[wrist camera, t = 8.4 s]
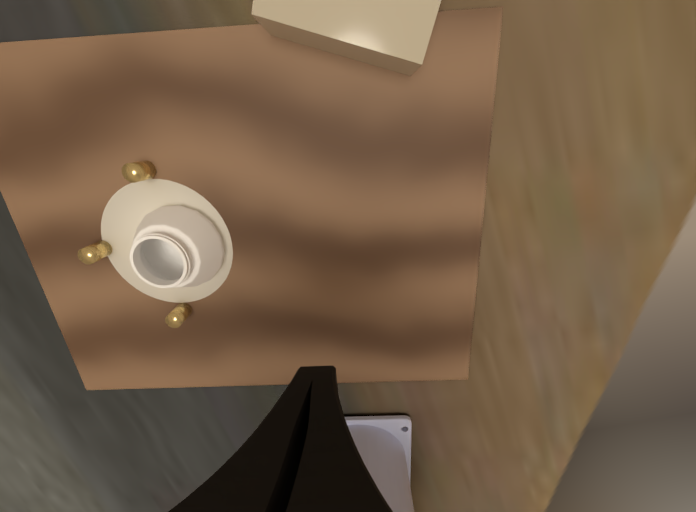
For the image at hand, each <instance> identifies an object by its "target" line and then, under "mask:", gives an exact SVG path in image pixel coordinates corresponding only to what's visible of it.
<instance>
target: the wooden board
mask: <svg viewBox="0 0 696 512" xmlns="http://www.w3.org/2000/svg"><path fill="white" fill-rule="evenodd" d="M502 14H503V7H489V8H475V9H461V10H447V11H438V13H437V16H436V20H435V23H434V26H433V30H432V33H431V37H430V40H429V43H428V47H427V50H426V53H425V57H424V60H423V63H422V65H421V66H420V67H419V68H418V69H417V70H416V71H415V72H414V73H413V74H412V75H411V76H408V75H404V74H401V73H398V72H394V71H391V70H387V69H384V68H381V67H377V66H374V65H370V64H367V63H363V62H360V61H357V60H353V59H350V58H346V57H343V56H340V55H336V54H333V53H329V52H326V51H322V50H319V49H316V48H312V47H309V46H305V45H302V44H299V43H295V42H292V41H288V40H285V39H281V38H278V37H275V36H271V35H270V34H269V33H268V32H267V31H266V30H265V29H264V28H263V26H262V25H261V24H253V25H239V26H225V27H211V28H197V29H184V30H170V31H156V32H142V33H128V34H114V35H100V36H86V37H73V38H59V39H45V40H31V41H17V42H3V43H0V191H1V193H2V195H3V197H4V200H5V202H6V204H7V207H8V209H9V211H10V214H11V216H12V218H13V221H14V223H15V225H16V228H17V230H18V232H19V235H20V237H21V239H22V241H23V244H24V246H25V248H26V251H27V253H28V255H29V258H30V260H31V262H32V265H33V267H34V269H35V272H36V274H37V276H38V279H39V281H40V283H41V286H42V288H43V290H44V292H45V295H46V297H47V299H48V302H49V304H50V306H51V309H52V311H53V313H54V316H55V318H56V320H57V323H58V325H59V327H60V330H61V332H62V334H63V336H64V339H65V341H66V343H67V346H68V348H69V350H70V353H71V355H72V357H73V360H74V362H75V364H76V367H77V369H78V371H79V374H80V376H81V378H82V380H83V383H84V385H85V387H86V390H106V389H141V388H177V387H213V386H248V385H284V384H289V383H290V382H291V380H292V379H293V377H294V375H295V374H296V372H297V370H298V369H299V368H300V367H303V366H330V365H333V366H334V367H335V368H336V376H337V383H355V382H391V381H427V380H462V379H468V372H469V361H470V351H471V340H472V330H473V319H474V309H475V298H476V288H477V277H478V267H479V256H480V246H481V235H482V225H483V214H484V204H485V193H486V183H487V172H488V162H489V151H490V141H491V130H492V120H493V109H494V99H495V88H496V78H497V67H498V56H499V46H500V35H501V25H502ZM175 205H181V206H184V207H187V208H190V209H193V210H196V211H198V212H199V213H200V214H202V215H203V216H204V217H206V218H207V219H208V220H210V221H211V222H212V224H213V225H214V227H215V228H216V230H217V231H218V233H219V234H220V236H221V239H222V243H223V248H224V257H223V261H222V266H221V268H220V269H219V270H218V272H217V273H216V274H215V275H214V276H213V278H212V279H211V280H209V281H207V282H205V283H203V284H201V285H199V286H196V287H178V288H158V287H154V286H151V285H149V284H147V283H146V282H144V281H143V280H142V279H140V278H139V277H138V275H137V274H136V273H135V272H134V270H133V268H132V266H131V263H130V249H131V247H132V245H133V239H134V236H135V233H136V229H137V227H138V225H139V224H140V222H141V221H142V219H143V218H144V216H145V215H146V214H148V213H150V212H152V211H154V210H156V209H158V208H160V207H162V206H175Z"/></svg>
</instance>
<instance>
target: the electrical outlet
mask: <svg viewBox="0 0 696 512" xmlns="http://www.w3.org/2000/svg"><path fill="white" fill-rule="evenodd" d="M440 3H441V0H253V6H252V15H253V16H254V18H255V19H256V20H257V21H258V22H259V23H260V24H261V25H262V26H263V28H264V29H265V30H266V31H267V32H268V33H269V34H270V35H271V36H275V37H278V38H281V39H285V40H288V41H292V42H295V43H299V44H302V45H305V46H309V47H312V48H316V49H319V50H322V51H326V52H329V53H333V54H336V55H340V56H343V57H346V58H350V59H353V60H357V61H360V62H363V63H367V64H370V65H374V66H377V67H381V68H384V69H387V70H391V71H394V72H398V73H401V74H404V75H408V76H411V75H412V74H413V73H414V72H415V71H416V70H417V69H418V68H419V67H420V66H421V65H422V63H423V60H424V57H425V53H426V50H427V47H428V43H429V40H430V37H431V33H432V30H433V26H434V23H435V20H436V16H437V13H438V10H439V6H440Z"/></svg>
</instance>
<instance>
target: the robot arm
mask: <svg viewBox="0 0 696 512" xmlns="http://www.w3.org/2000/svg"><path fill="white" fill-rule="evenodd" d="M411 426H412V423H411V419H410V417H409V416H406V415H395V416H353V417H344V414H343V411H342V408H341V404H340V400H339V397H338V387H337V376H336V368H335V367H334V366H333V365H330V366H303V367H300V368H299V369H298V370H297V372H296V374H295V375H294V377H293V379H292V380H291V382H290V383H289V385H288V387H287V388H286V390H285V391H284V393H283V394H282V396H281V397H280V398H279V400H278V401H277V403H276V404H275V406H274V407H273V408H272V410H271V411H270V412H269V414H268V415H267V416H266V418H265V419H264V420H263V421H262V423H261V424H260V425H259V427H258V428H257V429H256V430H255V431H254V433H253V434H252V435H251V436H250V437H249V438H248V440H247V441H246V442H245V443H244V444H243V445H242V446H241V447H240V448H239V449H238V451H237V452H236V453H235V454H234V455H233V456H232V457H231V458H230V459H229V460H228V461H227V462H226V463H225V464H224V465H223V466H222V467H221V468H220V469H219V470H218V471H216V472H215V473H214V474H213V475H212V476H211V477H210V478H209V479H208V480H207V481H205V482H204V483H203V484H202V485H201V486H200V487H198V488H197V489H196V490H195V491H194V492H193V493H191V494H190V495H189V496H188V497H187V498H185V499H184V500H183V501H182V502H180V503H179V504H178V505H177V506H175V507H174V508H173V509H171V510H170V511H169V512H414V508H413V501H412V494H411V488H410V477H411Z"/></svg>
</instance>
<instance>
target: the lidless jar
mask: <svg viewBox="0 0 696 512" xmlns="http://www.w3.org/2000/svg"><path fill="white" fill-rule="evenodd" d="M223 257H224V248H223V243H222V239H221V236H220V234H219V233H218V231H217V230H216V228H215V227H214V225H213V224H212V222H211V221H210V220H208V219H207V218H206V217H204V216H203V215H202V214H200V213H199V212H198V211H196V210H193V209H190V208H187V207H184V206H181V205H175V206H162V207H160V208H158V209H156V210H154V211H152V212H150V213H148V214H146V215H145V216H144V218H143V219H142V221H141V222H140V224H139V225H138V227H137V229H136V233H135V236H134V239H133V245H132V247H131V249H130V263H131V266H132V268H133V270H134V272H135V273H136V274H137V275H138V277H139V278H140V279H142V280H143V281H144V282H146V283H147V284H149V285H151V286H154V287H158V288H178V287H196V286H199V285H201V284H203V283H205V282H207V281H209V280H211V279H212V278H213V276H214V275H215V274H216V273H217V272H218V270H219V269H220V268H221V266H222V261H223Z"/></svg>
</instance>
